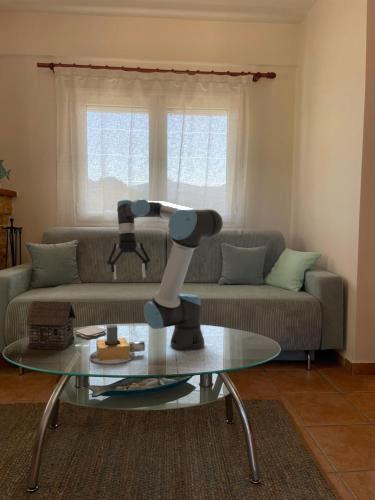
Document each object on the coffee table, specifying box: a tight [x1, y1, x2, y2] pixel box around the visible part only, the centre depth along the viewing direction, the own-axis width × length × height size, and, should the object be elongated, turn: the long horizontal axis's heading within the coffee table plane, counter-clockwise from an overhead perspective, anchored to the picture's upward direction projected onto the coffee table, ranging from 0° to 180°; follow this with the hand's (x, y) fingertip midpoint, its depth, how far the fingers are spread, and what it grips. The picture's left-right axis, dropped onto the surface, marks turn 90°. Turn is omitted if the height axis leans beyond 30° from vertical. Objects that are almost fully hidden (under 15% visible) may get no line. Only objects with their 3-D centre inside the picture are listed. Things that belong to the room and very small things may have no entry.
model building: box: [25, 300, 77, 350], centre depth 189 cm, size 18×14×20 cm
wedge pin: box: [106, 324, 119, 345], centre depth 172 cm, size 4×4×12 cm
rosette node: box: [89, 337, 146, 366], centre depth 173 cm, size 22×18×6 cm
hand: (129, 278), depth 196 cm, fingers open, 13 cm apart
